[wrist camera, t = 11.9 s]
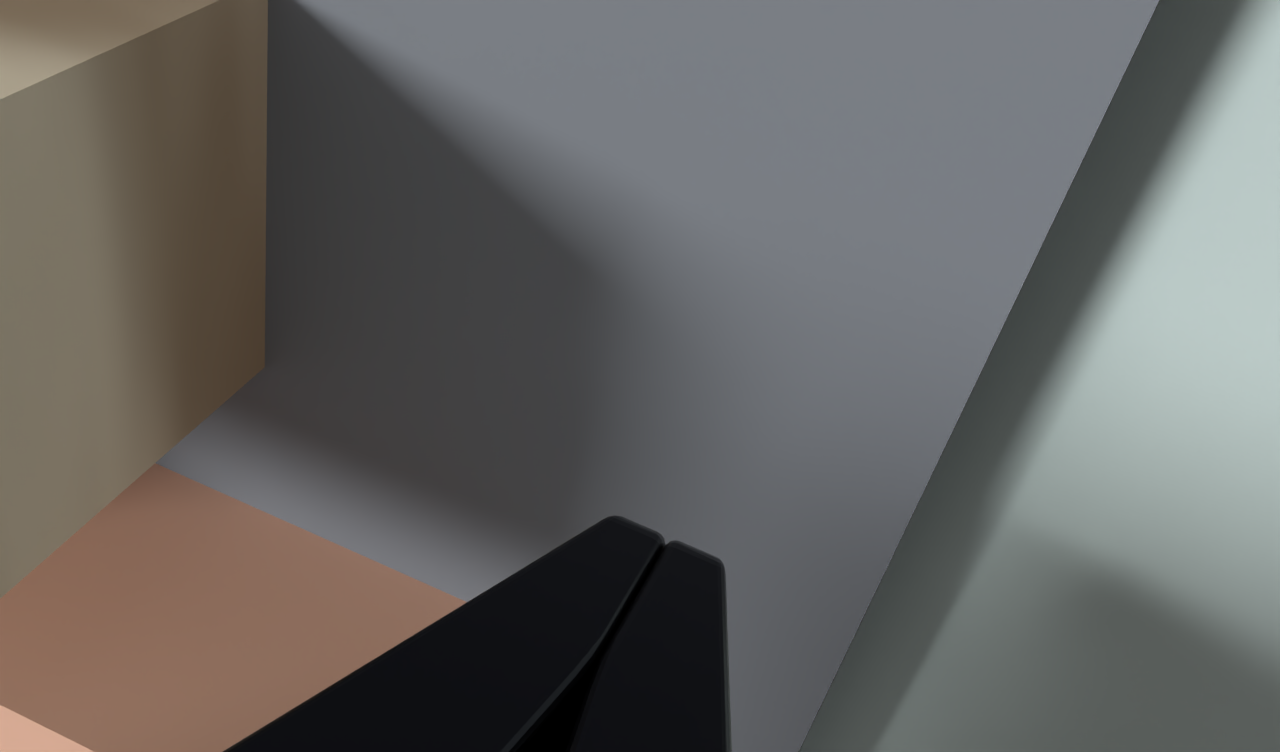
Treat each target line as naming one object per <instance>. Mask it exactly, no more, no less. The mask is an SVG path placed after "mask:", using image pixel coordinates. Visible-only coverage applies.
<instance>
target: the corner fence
mask: <svg viewBox="0 0 1280 752" xmlns="http://www.w3.org/2000/svg"><path fill="white" fill-rule="evenodd" d="M465 603H467V602H466V601H463V600H461V599H459V598H457V597H454V596H452V595H450V594H448V593H445V592H443V591H441V590H439V589H436V588H434V587H432V586H430V585H427V584H425V583H423V582H421V581H418V580H416V579H414V578H412V577H409V576H407V575H405V574H403V573H401V572H398V571H396V570H394V569H392V568H389V567H387V566H385V565H383V564H380V563H378V562H376V561H374V560H371V559H369V558H367V557H365V556H362V555H360V554H358V553H356V552H353V551H351V550H349V549H347V548H344V547H342V546H340V545H338V544H335V543H333V542H331V541H329V540H326V539H324V538H322V537H320V536H317V535H315V534H313V533H311V532H308V531H306V530H304V529H302V528H299V527H297V526H295V525H293V524H291V523H288V522H286V521H284V520H282V519H279V518H277V517H275V516H273V515H270V514H268V513H266V512H264V511H261V510H259V509H257V508H255V507H252V506H250V505H248V504H246V503H243V502H241V501H239V500H237V499H234V498H232V497H230V496H228V495H225V494H223V493H221V492H219V491H216V490H214V489H212V488H210V487H207V486H205V485H203V484H201V483H198V482H196V481H194V480H192V479H189V478H187V477H185V476H183V475H180V474H178V473H176V472H174V471H172V470H169V469H167V468H165V467H163V466H160V465H158V464H156V463H155V464H153V465H152V466H151V467H150V468H149V469H148V470H147V471H146V472H144V473H143V474H142V475H141V476H140V477H139V478H138V479H136V480H135V481H134V482H133V483H132V484H131V485H130V486H128V487H127V488H126V489H125V490H124V491H123V492H122V493H120V494H119V495H118V496H117V497H116V498H115V499H114V500H112V501H111V502H110V503H109V504H108V505H107V506H106V507H104V508H103V509H102V510H101V511H100V512H99V513H98V514H96V515H95V516H94V517H93V518H92V519H91V520H90V521H88V522H87V523H86V524H85V525H84V526H83V527H82V528H80V529H79V530H78V531H77V532H76V533H75V534H74V535H72V536H71V537H70V538H69V539H68V540H67V541H66V542H64V543H63V544H62V545H61V546H60V547H59V548H58V549H56V550H55V551H54V552H53V553H52V554H51V555H50V556H48V557H47V558H46V559H45V560H44V561H43V562H42V563H40V564H39V565H38V566H37V567H36V568H35V569H34V570H32V571H31V572H30V573H29V574H28V575H27V576H26V577H24V578H23V579H22V580H21V581H20V582H19V583H18V584H16V585H15V586H14V587H13V588H12V589H11V590H10V591H8V592H7V593H6V594H5V595H4V596H3V597H2V598H0V752H222V751H224V750H226V749H227V748H229V747H231V746H232V745H234V744H236V743H237V742H239V741H241V740H242V739H244V738H245V737H247V736H249V735H250V734H252V733H254V732H255V731H257V730H259V729H260V728H262V727H263V726H265V725H267V724H268V723H270V722H272V721H273V720H275V719H277V718H278V717H280V716H281V715H283V714H285V713H286V712H288V711H290V710H291V709H293V708H295V707H296V706H298V705H299V704H301V703H303V702H304V701H306V700H308V699H309V698H311V697H313V696H314V695H316V694H318V693H319V692H321V691H322V690H324V689H326V688H327V687H329V686H331V685H332V684H334V683H336V682H337V681H339V680H340V679H342V678H344V677H345V676H347V675H349V674H350V673H352V672H354V671H355V670H357V669H358V668H360V667H362V666H363V665H365V664H367V663H368V662H370V661H372V660H373V659H375V658H377V657H378V656H380V655H381V654H383V653H385V652H386V651H388V650H390V649H391V648H393V647H395V646H396V645H398V644H399V643H401V642H403V641H404V640H406V639H408V638H409V637H411V636H413V635H414V634H416V633H417V632H419V631H421V630H422V629H424V628H426V627H427V626H429V625H431V624H432V623H434V622H436V621H437V620H439V619H440V618H442V617H444V616H445V615H447V614H449V613H450V612H452V611H454V610H455V609H457V608H458V607H460V606H462V605H463V604H465Z"/></svg>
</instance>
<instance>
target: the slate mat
mask: <svg viewBox="0 0 1280 752" xmlns="http://www.w3.org/2000/svg"><path fill="white" fill-rule="evenodd" d="M1158 2H1159V0H268V42H267V159H266V276H265V367H264V368H263V369H262V370H261V371H260V372H259V373H257V374H256V375H255V376H254V377H253V378H252V379H251V380H249V381H248V382H247V383H246V384H245V385H244V386H243V387H241V388H240V389H239V390H238V391H237V392H236V393H235V394H233V395H232V396H231V397H230V398H229V399H228V400H227V401H225V402H224V403H223V404H222V405H221V406H220V407H219V408H217V409H216V410H215V411H214V412H213V413H212V414H211V415H209V416H208V417H207V418H206V419H205V420H204V421H203V422H201V423H200V424H199V425H198V426H197V427H196V428H195V429H193V430H192V431H191V432H190V433H189V434H188V435H187V436H185V437H184V438H183V439H182V440H181V441H180V442H179V443H177V444H176V445H175V446H174V447H173V448H172V449H171V450H169V451H168V452H167V453H166V454H165V455H164V456H163V457H161V458H160V459H159V460H158V461H157V462H156V464H158V465H160V466H163V467H165V468H167V469H169V470H172V471H174V472H176V473H178V474H180V475H183V476H185V477H187V478H189V479H192V480H194V481H196V482H198V483H201V484H203V485H205V486H207V487H210V488H212V489H214V490H216V491H219V492H221V493H223V494H225V495H228V496H230V497H232V498H234V499H237V500H239V501H241V502H243V503H246V504H248V505H250V506H252V507H255V508H257V509H259V510H261V511H264V512H266V513H268V514H270V515H273V516H275V517H277V518H279V519H282V520H284V521H286V522H288V523H291V524H293V525H295V526H297V527H299V528H302V529H304V530H306V531H308V532H311V533H313V534H315V535H317V536H320V537H322V538H324V539H326V540H329V541H331V542H333V543H335V544H338V545H340V546H342V547H344V548H347V549H349V550H351V551H353V552H356V553H358V554H360V555H362V556H365V557H367V558H369V559H371V560H374V561H376V562H378V563H380V564H383V565H385V566H387V567H389V568H392V569H394V570H396V571H398V572H401V573H403V574H405V575H407V576H409V577H412V578H414V579H416V580H418V581H421V582H423V583H425V584H427V585H430V586H432V587H434V588H436V589H439V590H441V591H443V592H445V593H448V594H450V595H452V596H454V597H457V598H459V599H461V600H463V601H466V602H468V601H470V600H472V599H473V598H475V597H476V596H478V595H480V594H481V593H483V592H485V591H486V590H488V589H490V588H491V587H493V586H495V585H496V584H498V583H499V582H501V581H503V580H504V579H506V578H508V577H509V576H511V575H513V574H514V573H516V572H517V571H519V570H521V569H522V568H524V567H526V566H527V565H529V564H531V563H532V562H534V561H535V560H537V559H539V558H540V557H542V556H544V555H545V554H547V553H549V552H550V551H552V550H553V549H555V548H557V547H558V546H560V545H562V544H563V543H565V542H567V541H568V540H570V539H572V538H573V537H575V536H576V535H578V534H580V533H581V532H583V531H585V530H586V529H588V528H590V527H591V526H593V525H594V524H596V523H598V522H599V521H601V520H603V519H605V518H606V517H609V516H614V515H618V516H622V517H624V518H626V519H629V520H631V521H633V522H636V523H638V524H640V525H643V526H645V527H647V528H650V529H652V530H655V531H657V532H659V533H660V534H662V536H663V537H664V539H665V545H666V544H667V543H669V542H670V541H674V540H677V541H680V542H683V543H685V544H687V545H690V546H692V547H694V548H697V549H699V550H701V551H704V552H706V553H708V554H711V555H713V556H715V557H718V558H719V559H720V560H721V561H722V562H723V564H724V567H725V573H726V599H727V627H728V655H729V683H730V710H731V738H732V752H799V750H800V748H801V746H802V744H803V742H804V740H805V738H806V736H807V734H808V731H809V729H810V727H811V725H812V723H813V721H814V719H815V717H816V715H817V713H818V711H819V709H820V706H821V704H822V702H823V700H824V698H825V696H826V694H827V692H828V690H829V688H830V686H831V684H832V681H833V679H834V677H835V675H836V673H837V671H838V669H839V667H840V665H841V663H842V661H843V659H844V656H845V654H846V652H847V650H848V648H849V646H850V644H851V642H852V640H853V638H854V636H855V634H856V631H857V629H858V627H859V625H860V623H861V621H862V619H863V617H864V615H865V613H866V611H867V609H868V606H869V604H870V602H871V600H872V598H873V596H874V594H875V592H876V590H877V588H878V586H879V584H880V581H881V579H882V577H883V575H884V573H885V571H886V569H887V567H888V565H889V563H890V561H891V559H892V556H893V554H894V552H895V550H896V548H897V546H898V544H899V542H900V540H901V538H902V536H903V534H904V531H905V529H906V527H907V525H908V523H909V521H910V519H911V517H912V515H913V513H914V511H915V508H916V506H917V504H918V502H919V500H920V498H921V496H922V494H923V492H924V490H925V488H926V486H927V483H928V481H929V479H930V477H931V475H932V473H933V471H934V469H935V467H936V465H937V463H938V461H939V458H940V456H941V454H942V452H943V450H944V448H945V446H946V444H947V442H948V440H949V438H950V436H951V433H952V431H953V429H954V427H955V425H956V423H957V421H958V419H959V417H960V415H961V413H962V411H963V408H964V406H965V404H966V402H967V400H968V398H969V396H970V394H971V392H972V390H973V388H974V386H975V383H976V381H977V379H978V377H979V375H980V373H981V371H982V369H983V367H984V365H985V363H986V361H987V358H988V356H989V354H990V352H991V350H992V348H993V346H994V344H995V342H996V340H997V338H998V336H999V333H1000V331H1001V329H1002V327H1003V325H1004V323H1005V321H1006V319H1007V317H1008V315H1009V313H1010V311H1011V308H1012V306H1013V304H1014V302H1015V300H1016V298H1017V296H1018V294H1019V292H1020V290H1021V288H1022V286H1023V283H1024V281H1025V279H1026V277H1027V275H1028V273H1029V271H1030V269H1031V267H1032V265H1033V263H1034V261H1035V258H1036V256H1037V254H1038V252H1039V250H1040V248H1041V246H1042V244H1043V242H1044V240H1045V238H1046V235H1047V233H1048V231H1049V229H1050V227H1051V225H1052V223H1053V221H1054V219H1055V217H1056V215H1057V213H1058V210H1059V208H1060V206H1061V204H1062V202H1063V200H1064V198H1065V196H1066V194H1067V192H1068V190H1069V188H1070V185H1071V183H1072V181H1073V179H1074V177H1075V175H1076V173H1077V171H1078V169H1079V167H1080V165H1081V163H1082V160H1083V158H1084V156H1085V154H1086V152H1087V150H1088V148H1089V146H1090V144H1091V142H1092V140H1093V138H1094V135H1095V133H1096V131H1097V129H1098V127H1099V125H1100V123H1101V121H1102V119H1103V117H1104V115H1105V113H1106V110H1107V108H1108V106H1109V104H1110V102H1111V100H1112V98H1113V96H1114V94H1115V92H1116V90H1117V88H1118V85H1119V83H1120V81H1121V79H1122V77H1123V75H1124V73H1125V71H1126V69H1127V67H1128V65H1129V63H1130V60H1131V58H1132V56H1133V54H1134V52H1135V50H1136V48H1137V46H1138V44H1139V42H1140V40H1141V38H1142V35H1143V33H1144V31H1145V29H1146V27H1147V25H1148V23H1149V21H1150V19H1151V17H1152V15H1153V13H1154V10H1155V8H1156V6H1157V4H1158Z"/></svg>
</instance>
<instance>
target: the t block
mask: <svg viewBox="0 0 1280 752" xmlns="http://www.w3.org/2000/svg"><path fill="white" fill-rule="evenodd" d="M267 42H268V0H0V598H2V597H3V596H4V595H5V594H6V593H7V592H8V591H10V590H11V589H12V588H13V587H14V586H15V585H16V584H18V583H19V582H20V581H21V580H22V579H23V578H24V577H26V576H27V575H28V574H29V573H30V572H31V571H32V570H34V569H35V568H36V567H37V566H38V565H39V564H40V563H42V562H43V561H44V560H45V559H46V558H47V557H48V556H50V555H51V554H52V553H53V552H54V551H55V550H56V549H58V548H59V547H60V546H61V545H62V544H63V543H64V542H66V541H67V540H68V539H69V538H70V537H71V536H72V535H74V534H75V533H76V532H77V531H78V530H79V529H80V528H82V527H83V526H84V525H85V524H86V523H87V522H88V521H90V520H91V519H92V518H93V517H94V516H95V515H96V514H98V513H99V512H100V511H101V510H102V509H103V508H104V507H106V506H107V505H108V504H109V503H110V502H111V501H112V500H114V499H115V498H116V497H117V496H118V495H119V494H120V493H122V492H123V491H124V490H125V489H126V488H127V487H128V486H130V485H131V484H132V483H133V482H134V481H135V480H136V479H138V478H139V477H140V476H141V475H142V474H143V473H144V472H146V471H147V470H148V469H149V468H150V467H151V466H152V465H153V464H155V463H156V462H157V461H158V460H159V459H160V458H161V457H163V456H164V455H165V454H166V453H167V452H168V451H169V450H171V449H172V448H173V447H174V446H175V445H176V444H177V443H179V442H180V441H181V440H182V439H183V438H184V437H185V436H187V435H188V434H189V433H190V432H191V431H192V430H193V429H195V428H196V427H197V426H198V425H199V424H200V423H201V422H203V421H204V420H205V419H206V418H207V417H208V416H209V415H211V414H212V413H213V412H214V411H215V410H216V409H217V408H219V407H220V406H221V405H222V404H223V403H224V402H225V401H227V400H228V399H229V398H230V397H231V396H232V395H233V394H235V393H236V392H237V391H238V390H239V389H240V388H241V387H243V386H244V385H245V384H246V383H247V382H248V381H249V380H251V379H252V378H253V377H254V376H255V375H256V374H257V373H259V372H260V371H261V370H262V369H263V368H264V367H265V276H266V159H267Z"/></svg>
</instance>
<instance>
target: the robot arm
mask: <svg viewBox="0 0 1280 752" xmlns="http://www.w3.org/2000/svg"><path fill="white" fill-rule="evenodd" d="M222 752H732V738H731V710H730V683H729V655H728V627H727V599H726V573H725V567H724V564H723V562H722V561H721V560H720V559H719V558H718V557H715V556H713V555H711V554H708V553H706V552H704V551H701V550H699V549H697V548H694V547H692V546H690V545H687V544H685V543H683V542H680V541H677V540H674V541H670V542H669V543H667V544H666V545H665V539H664V537H663V536H662V534H660V533H659V532H657V531H655V530H652V529H650V528H647V527H645V526H643V525H640V524H638V523H636V522H633V521H631V520H629V519H626V518H624V517H622V516H618V515H614V516H609V517H606V518H605V519H603V520H601V521H599V522H598V523H596V524H594V525H593V526H591V527H590V528H588V529H586V530H585V531H583V532H581V533H580V534H578V535H576V536H575V537H573V538H572V539H570V540H568V541H567V542H565V543H563V544H562V545H560V546H558V547H557V548H555V549H553V550H552V551H550V552H549V553H547V554H545V555H544V556H542V557H540V558H539V559H537V560H535V561H534V562H532V563H531V564H529V565H527V566H526V567H524V568H522V569H521V570H519V571H517V572H516V573H514V574H513V575H511V576H509V577H508V578H506V579H504V580H503V581H501V582H499V583H498V584H496V585H495V586H493V587H491V588H490V589H488V590H486V591H485V592H483V593H481V594H480V595H478V596H476V597H475V598H473V599H472V600H470V601H468V602H467V603H465V604H463V605H462V606H460V607H458V608H457V609H455V610H454V611H452V612H450V613H449V614H447V615H445V616H444V617H442V618H440V619H439V620H437V621H436V622H434V623H432V624H431V625H429V626H427V627H426V628H424V629H422V630H421V631H419V632H417V633H416V634H414V635H413V636H411V637H409V638H408V639H406V640H404V641H403V642H401V643H399V644H398V645H396V646H395V647H393V648H391V649H390V650H388V651H386V652H385V653H383V654H381V655H380V656H378V657H377V658H375V659H373V660H372V661H370V662H368V663H367V664H365V665H363V666H362V667H360V668H358V669H357V670H355V671H354V672H352V673H350V674H349V675H347V676H345V677H344V678H342V679H340V680H339V681H337V682H336V683H334V684H332V685H331V686H329V687H327V688H326V689H324V690H322V691H321V692H319V693H318V694H316V695H314V696H313V697H311V698H309V699H308V700H306V701H304V702H303V703H301V704H299V705H298V706H296V707H295V708H293V709H291V710H290V711H288V712H286V713H285V714H283V715H281V716H280V717H278V718H277V719H275V720H273V721H272V722H270V723H268V724H267V725H265V726H263V727H262V728H260V729H259V730H257V731H255V732H254V733H252V734H250V735H249V736H247V737H245V738H244V739H242V740H241V741H239V742H237V743H236V744H234V745H232V746H231V747H229V748H227V749H226V750H224V751H222Z"/></svg>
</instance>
